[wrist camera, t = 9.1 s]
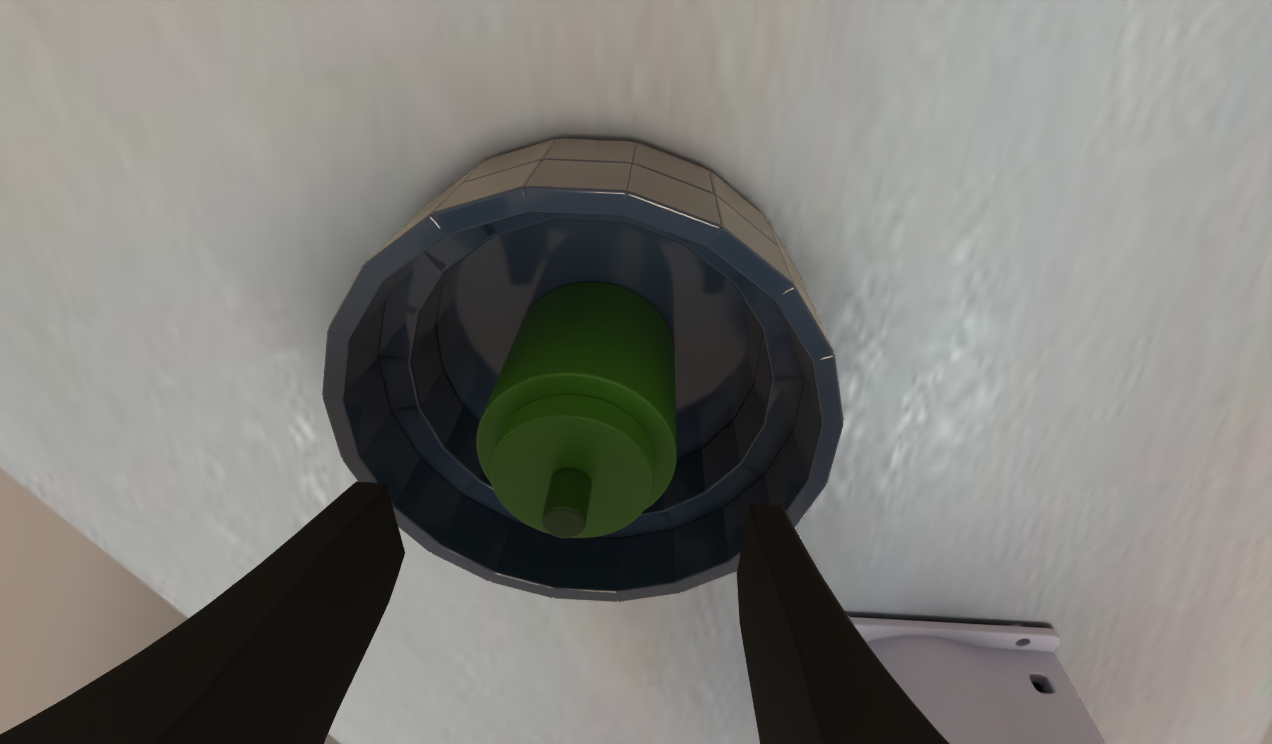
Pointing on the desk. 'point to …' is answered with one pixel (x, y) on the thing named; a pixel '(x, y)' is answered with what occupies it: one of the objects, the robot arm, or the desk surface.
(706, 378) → the bowl
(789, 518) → the robot arm
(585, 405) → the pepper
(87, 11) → the desk surface
